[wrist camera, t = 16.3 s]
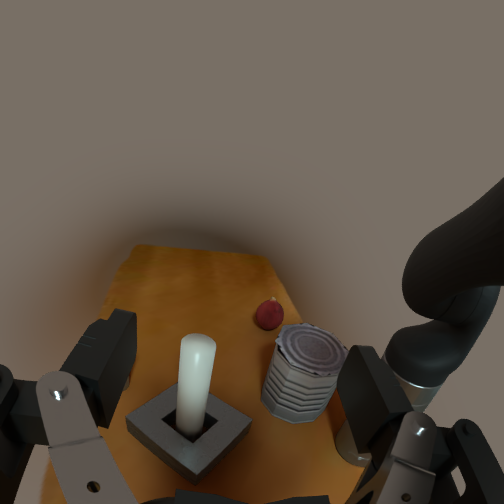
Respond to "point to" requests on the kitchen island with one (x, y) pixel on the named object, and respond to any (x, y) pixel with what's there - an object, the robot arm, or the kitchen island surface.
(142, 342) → the kitchen island surface
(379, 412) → the robot arm
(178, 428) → the long pin
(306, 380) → the can
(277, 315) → the onion
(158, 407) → the hole plate
